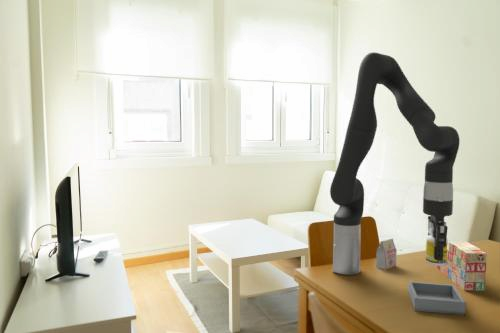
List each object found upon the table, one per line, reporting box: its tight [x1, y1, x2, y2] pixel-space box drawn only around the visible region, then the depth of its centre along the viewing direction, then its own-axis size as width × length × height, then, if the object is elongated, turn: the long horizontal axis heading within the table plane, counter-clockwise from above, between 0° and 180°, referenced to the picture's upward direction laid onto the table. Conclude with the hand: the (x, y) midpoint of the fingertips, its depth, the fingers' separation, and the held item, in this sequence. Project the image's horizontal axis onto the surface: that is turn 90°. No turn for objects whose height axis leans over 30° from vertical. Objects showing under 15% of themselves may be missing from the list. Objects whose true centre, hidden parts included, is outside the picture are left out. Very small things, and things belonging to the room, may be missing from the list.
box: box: [407, 280, 466, 316], centre depth 113 cm, size 13×13×4 cm
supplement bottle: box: [425, 228, 449, 267], centre depth 112 cm, size 5×5×10 cm
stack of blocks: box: [436, 241, 488, 292], centre depth 131 cm, size 21×6×12 cm, turn 176°
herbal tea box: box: [375, 238, 397, 271], centre depth 144 cm, size 4×7×10 cm, turn 125°
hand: (436, 256), depth 112 cm, fingers closed on supplement bottle, 5 cm apart
